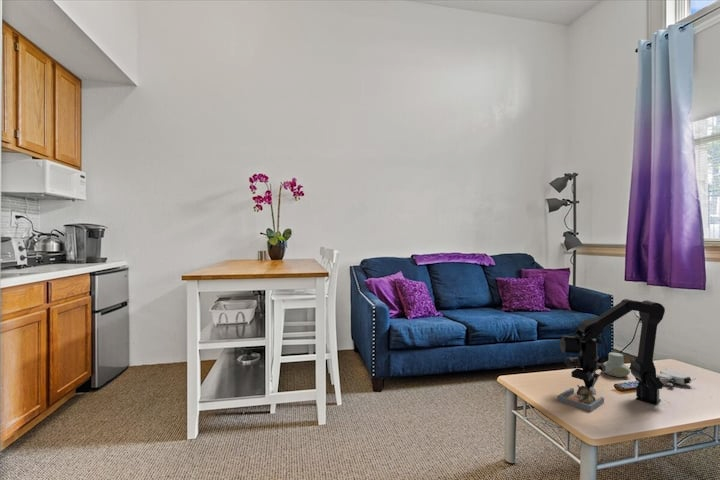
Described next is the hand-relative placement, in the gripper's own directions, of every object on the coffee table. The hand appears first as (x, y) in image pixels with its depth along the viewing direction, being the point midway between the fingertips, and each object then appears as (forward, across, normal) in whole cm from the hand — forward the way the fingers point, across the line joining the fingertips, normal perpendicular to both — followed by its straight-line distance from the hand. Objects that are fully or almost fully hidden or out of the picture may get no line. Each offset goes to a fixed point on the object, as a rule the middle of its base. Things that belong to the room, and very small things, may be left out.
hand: (588, 391), depth 150 cm
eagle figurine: (+2, +6, +1) cm, 7 cm away
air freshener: (+3, -38, -2) cm, 38 cm away
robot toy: (+3, -45, +16) cm, 48 cm away
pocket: (+2, +8, 0) cm, 8 cm away
